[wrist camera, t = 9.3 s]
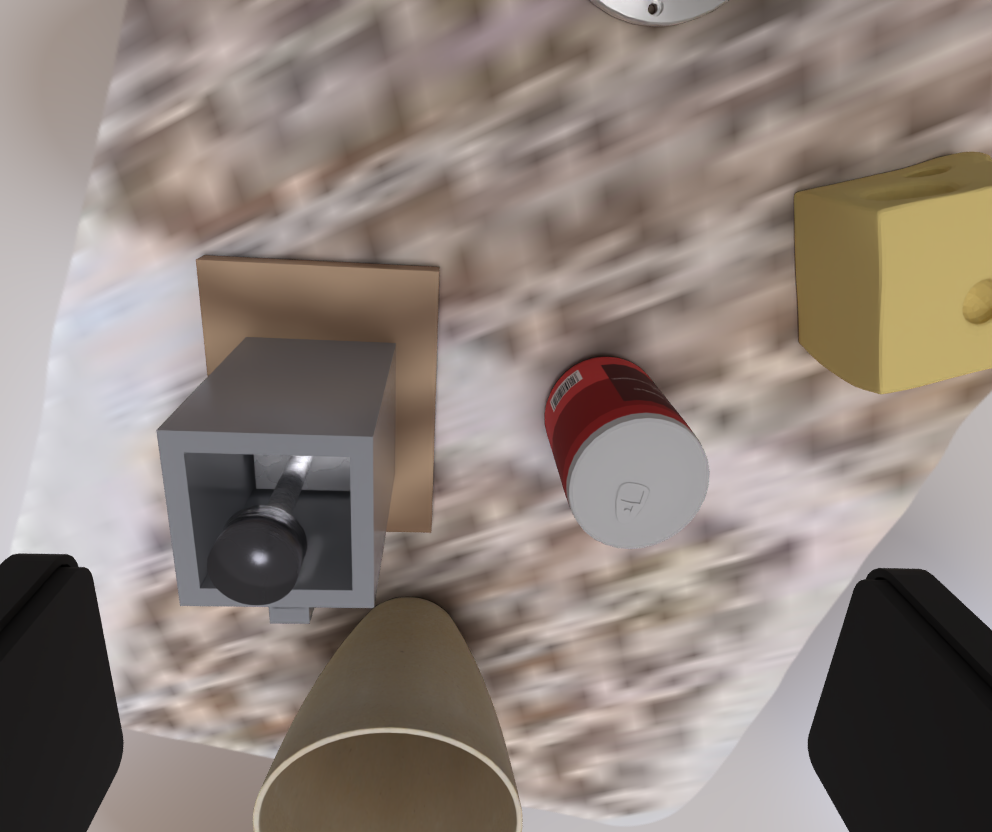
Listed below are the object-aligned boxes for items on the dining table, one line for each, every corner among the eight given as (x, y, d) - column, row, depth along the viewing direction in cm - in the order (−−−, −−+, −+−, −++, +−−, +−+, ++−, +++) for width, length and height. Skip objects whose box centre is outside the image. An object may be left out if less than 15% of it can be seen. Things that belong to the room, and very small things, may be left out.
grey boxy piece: (246, 336, 42) (156, 430, 29) (396, 342, 43) (372, 436, 30) (258, 504, 47) (186, 649, 34) (394, 507, 47) (374, 651, 34)
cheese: (953, 149, 42) (1094, 156, 33) (945, 319, 46) (1068, 368, 37) (782, 187, 42) (875, 205, 33) (789, 353, 47) (873, 410, 37)
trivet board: (204, 255, 42) (195, 259, 40) (439, 266, 43) (439, 271, 41) (229, 516, 49) (223, 528, 47) (431, 521, 50) (431, 532, 48)
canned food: (543, 465, 49) (567, 555, 38) (541, 355, 45) (568, 421, 35) (652, 458, 49) (705, 546, 39) (658, 349, 46) (717, 413, 36)
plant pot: (351, 524, 49) (309, 694, 35) (536, 595, 53) (570, 776, 38) (278, 676, 54) (214, 881, 40) (452, 732, 57) (453, 940, 43)
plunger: (252, 380, 39) (161, 497, 27) (367, 384, 40) (330, 501, 27) (259, 482, 42) (180, 631, 29) (368, 484, 42) (334, 633, 30)
